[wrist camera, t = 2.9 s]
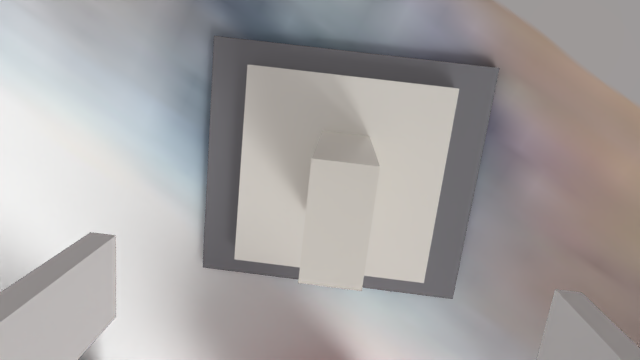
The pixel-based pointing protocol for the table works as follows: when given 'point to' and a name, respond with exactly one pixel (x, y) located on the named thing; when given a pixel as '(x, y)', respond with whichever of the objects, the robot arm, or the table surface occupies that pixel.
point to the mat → (467, 78)
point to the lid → (341, 174)
